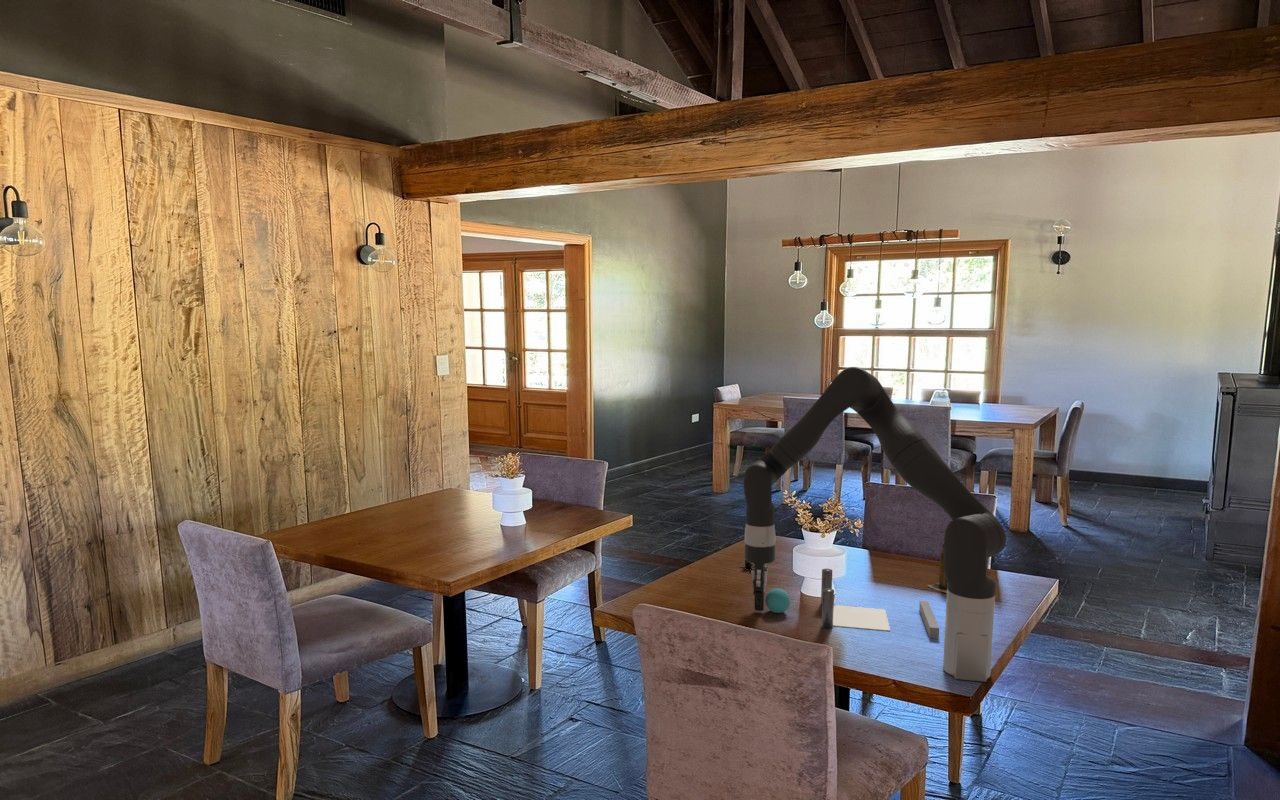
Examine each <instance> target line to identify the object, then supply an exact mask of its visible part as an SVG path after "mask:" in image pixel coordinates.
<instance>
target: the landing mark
mask: <svg viewBox="0 0 1280 800" xmlns="http://www.w3.org/2000/svg"><path fill="white" fill-rule="evenodd" d="M833 627H841V628H848V629H849V628H851V629H861V630H872V631H874V630H875V631H885V632H891V627H890V624H889V620H888V615H887V612H886V609H884V608H872V607H860V606H859V607H858V606H848V605H836V604H834V610H833Z"/></svg>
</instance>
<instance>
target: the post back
mask: <svg viewBox="0 0 1280 800" xmlns="http://www.w3.org/2000/svg"><path fill="white" fill-rule="evenodd" d="M825 588H829V589H833V569H831V568H822V569H821V589H820V590H821V591H820V592H821V593H820V605H821V606H822V603H823V589H825Z"/></svg>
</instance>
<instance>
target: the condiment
mask: <svg viewBox="0 0 1280 800" xmlns="http://www.w3.org/2000/svg"><path fill="white" fill-rule="evenodd" d="M938 576H939V577H938V582H935V583H933V584H928V585H927V587H929V588H930V589H934V590H935V591H936V590H937V591H939V592H943V593H945V594H947V580H946V577H945V574H944V543H943V544H942V549H941V553H940V556H939V574H938Z"/></svg>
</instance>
